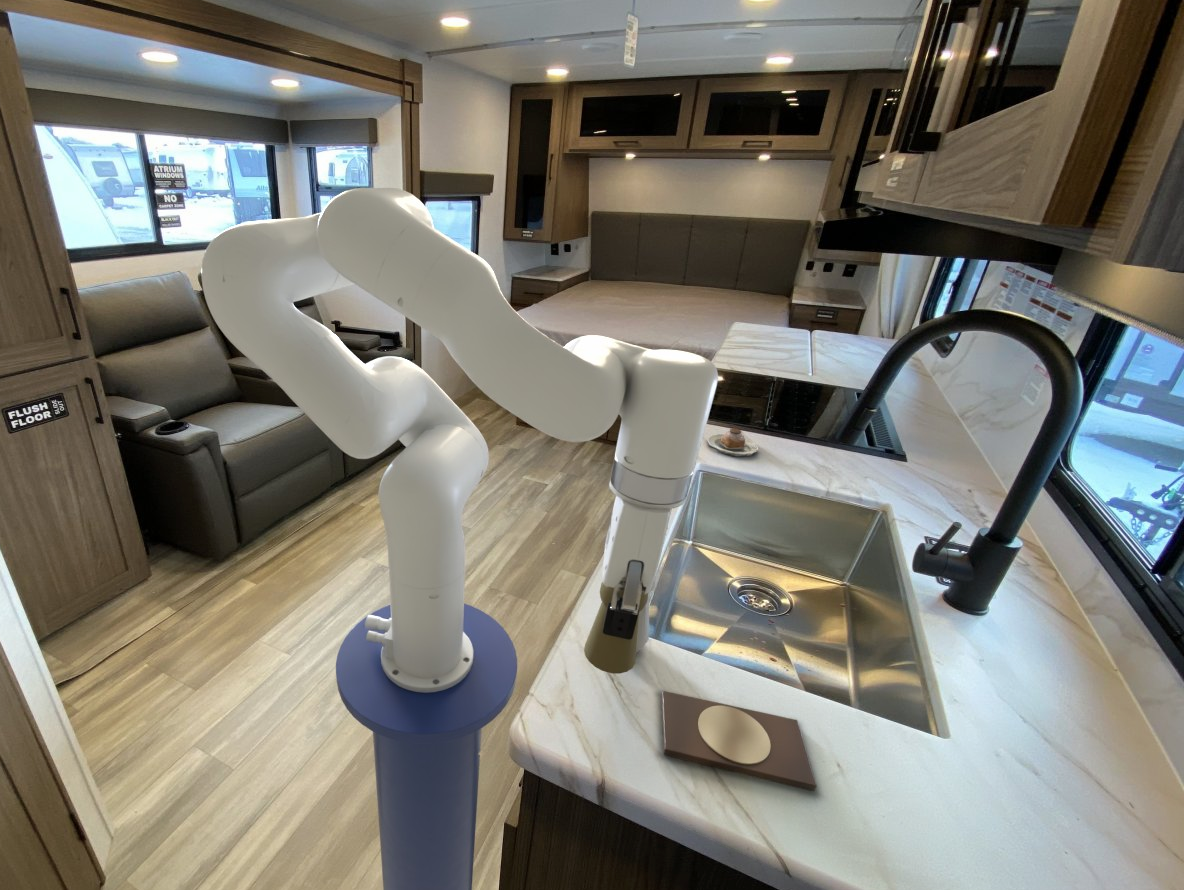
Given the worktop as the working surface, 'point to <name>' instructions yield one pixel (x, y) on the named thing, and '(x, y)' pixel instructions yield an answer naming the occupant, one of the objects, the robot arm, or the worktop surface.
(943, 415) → the worktop surface
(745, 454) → the pastry
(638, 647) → the salt shaker
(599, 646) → the pepper shaker
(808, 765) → the serving board
